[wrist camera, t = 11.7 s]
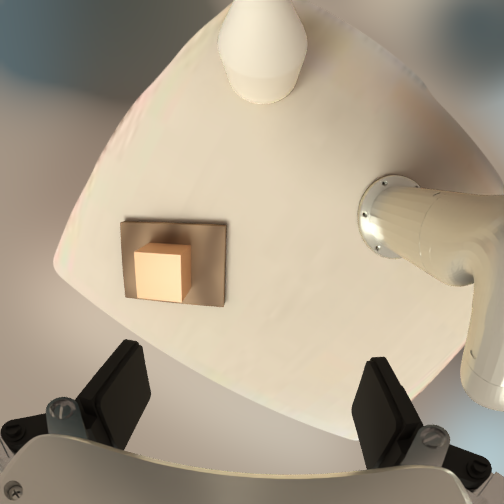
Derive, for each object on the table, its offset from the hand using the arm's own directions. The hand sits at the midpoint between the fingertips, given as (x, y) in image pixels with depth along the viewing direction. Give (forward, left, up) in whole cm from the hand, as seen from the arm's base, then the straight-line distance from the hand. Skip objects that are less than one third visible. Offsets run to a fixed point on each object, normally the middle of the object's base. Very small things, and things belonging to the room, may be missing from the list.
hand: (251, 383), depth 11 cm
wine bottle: (+1, -23, -32) cm, 39 cm away
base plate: (+13, +5, -31) cm, 34 cm away
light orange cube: (+13, +5, -30) cm, 33 cm away
